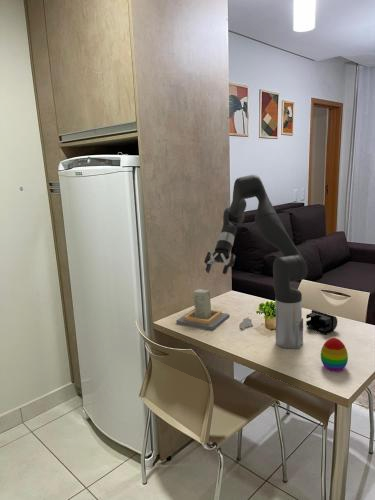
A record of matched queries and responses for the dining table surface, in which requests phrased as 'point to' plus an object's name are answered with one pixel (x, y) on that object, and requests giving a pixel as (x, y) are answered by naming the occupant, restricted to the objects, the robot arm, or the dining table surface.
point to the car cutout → (246, 323)
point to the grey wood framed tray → (203, 320)
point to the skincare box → (202, 303)
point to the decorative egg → (334, 355)
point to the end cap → (321, 322)
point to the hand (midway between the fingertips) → (215, 272)
